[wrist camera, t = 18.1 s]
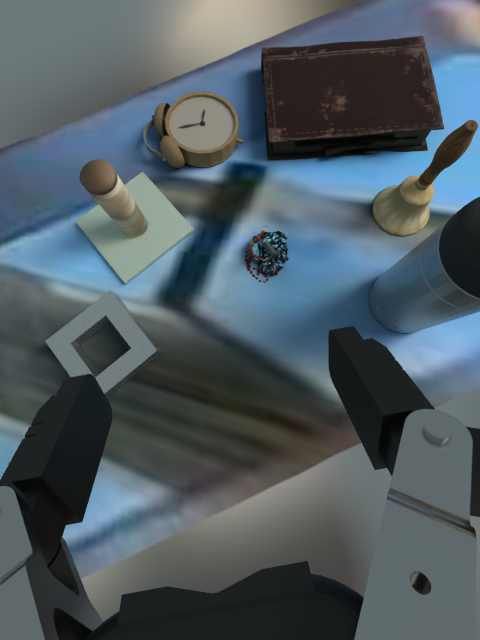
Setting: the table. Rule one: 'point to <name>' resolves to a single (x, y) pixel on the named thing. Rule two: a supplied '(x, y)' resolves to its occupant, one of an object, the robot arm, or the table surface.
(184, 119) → the alarm clock
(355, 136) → the diary
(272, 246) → the beaded bracelet pile
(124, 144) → the table surface
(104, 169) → the peg
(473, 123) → the hand bell
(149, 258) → the tile
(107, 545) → the table surface
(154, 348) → the block
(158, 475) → the table surface
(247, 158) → the table surface
